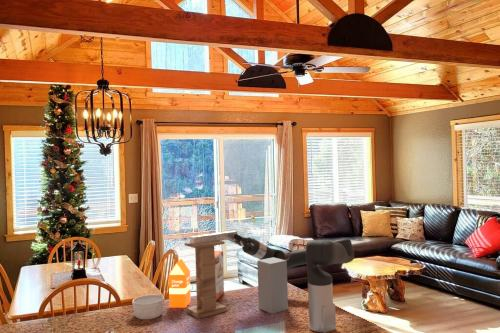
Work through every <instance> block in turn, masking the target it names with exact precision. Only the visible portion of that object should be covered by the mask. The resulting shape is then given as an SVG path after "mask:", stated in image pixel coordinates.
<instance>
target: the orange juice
mask: <svg viewBox="0 0 500 333" xmlns="http://www.w3.org/2000/svg"><path fill="white" fill-rule="evenodd" d="M168 292H169V294H168V295H169V296H168V298H169V308H188V306H187V305H190V302H192V301H191V300H192V298H191V270H190V269H189V267H188V266H187V265H186V263H185V262H184V261H183V259H182V258H181V259H179V260H178V261H177V262H176V263H175V265H174V266H173V268H172V269H171V271H170V272H169V274H168Z"/></svg>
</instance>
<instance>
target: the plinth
mask: <svg viewBox="0 0 500 333" xmlns="http://www.w3.org/2000/svg"><path fill="white" fill-rule="evenodd" d="M286 260H287V259H286ZM286 260H282V259H278V258H274V257H273V258H267V259H262V260H260V259H258V260H256V261H257V262H256V263H257V293H258V296H257V297H258V309H259V310H261V311H265V312H266V313H269V314H277V313H280V312H283V311H286V310H288V309H289V298H288V297H289V294H288V290H289V289H288V270H287V261H286Z"/></svg>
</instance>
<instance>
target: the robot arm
mask: <svg viewBox="0 0 500 333" xmlns="http://www.w3.org/2000/svg"><path fill="white" fill-rule="evenodd" d="M233 238H234V239H228V240H227V241H230V242H232V243H233V244H235V245H237V246H239V247H241V248H242V251H243V253H246V254H247V255H249V256H251V257H253V258H255V259H258V260H262V259H267V258H273V257H274V258H278V259H282V260H286V261H287V271H288V270H289V269H293V268H294V267H296V266H301V265H306V274H307V294H308V295H307V296H308V297H307V298H308V299H307V300H308V328H309V330H311V331H314V332H317V333H329V332H331V331H335V330H336V329H337V326H336V325H337V324H336V322H337V321H336V304H335V303H334V294H333V292H334V290H333V289H334V288H333V287H334V286H333V276H332V275H331V274H330V273H328V272H326V271H324V270H323V269H321V268H320V267H319V266H331V265H334V264H335V265H336V264H341V265H342V264H348V263H351V262H353V261H354V259H355V252H354V249H353V248H354V247H353V245H352V244H353V243H352V240H351V239H349V238H340V239H335V240H332V241H331V240H321V239H310V240H307V243H306V245H305V248H304V249H297V250H293V251H290V252H289V255H288V258H287V257H286V253H285V252H284V251H283V250H282V249H275V248H271V247H269V246H267V245H266V244H264V243H262V242H261V241H259V240H257V239H256V238H254V237H251V236H249V237H245V236H241V235H239V233H237V234H234V236H233Z"/></svg>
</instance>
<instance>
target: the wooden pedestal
mask: <svg viewBox="0 0 500 333" xmlns="http://www.w3.org/2000/svg"><path fill="white" fill-rule="evenodd" d="M220 245H225V240H222V241H215V242H208V243H202V244H195V245H194V244H190V241H187V242H184V246H186V247H190V248H194V249H195V251H194V252H195V253H194V254H195V255H194V256H195V283H196V284H195V285H196V287H195V288H196V289H195V290H196V305H193V306H192V305H191V306H187V307H186V313H187V314H189V315H191V316H193V317H194V318H196V319H198V320H199V319H203V318H206V317H210V316H213V315H217V314H220V313H224V312H227V308H228V306H226V305H224V304H222V303H220V302H217V301H216V286H215V254H214V251H215V246H220Z"/></svg>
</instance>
